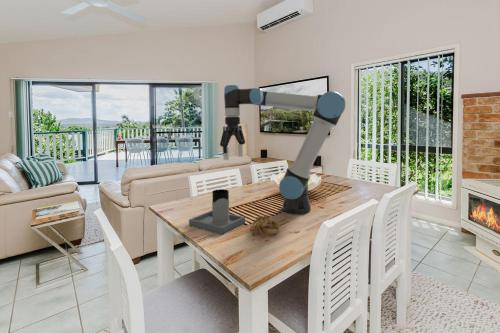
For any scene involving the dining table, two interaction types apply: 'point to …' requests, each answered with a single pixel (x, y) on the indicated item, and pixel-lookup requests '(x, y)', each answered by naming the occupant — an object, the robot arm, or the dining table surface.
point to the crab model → (263, 223)
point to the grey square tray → (206, 223)
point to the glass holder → (220, 207)
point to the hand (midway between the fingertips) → (233, 158)
